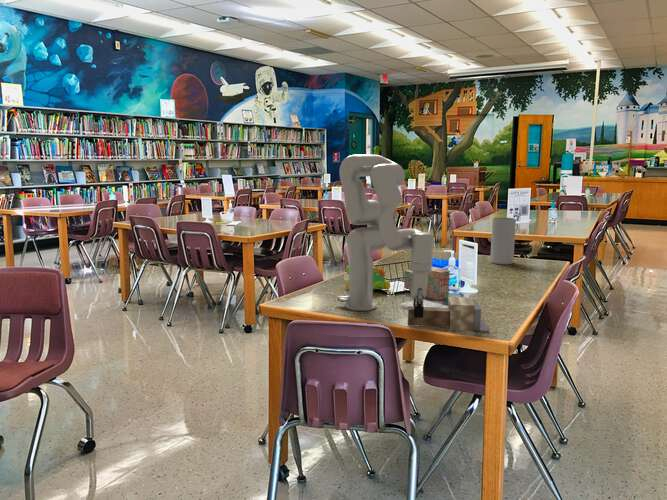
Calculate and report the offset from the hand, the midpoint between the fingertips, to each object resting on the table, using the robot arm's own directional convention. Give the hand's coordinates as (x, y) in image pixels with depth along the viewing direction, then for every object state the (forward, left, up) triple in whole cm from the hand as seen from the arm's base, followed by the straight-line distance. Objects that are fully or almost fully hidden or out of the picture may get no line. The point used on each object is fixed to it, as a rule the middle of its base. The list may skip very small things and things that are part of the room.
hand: (417, 313), depth 210 cm
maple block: (+15, -1, -4) cm, 16 cm away
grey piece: (+22, -1, -4) cm, 22 cm away
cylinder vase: (+51, +126, -4) cm, 136 cm away
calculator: (+5, +20, -5) cm, 21 cm away
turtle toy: (-22, +52, -4) cm, 56 cm away
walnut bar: (+6, -1, -4) cm, 7 cm away
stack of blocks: (+5, +45, -4) cm, 45 cm away
